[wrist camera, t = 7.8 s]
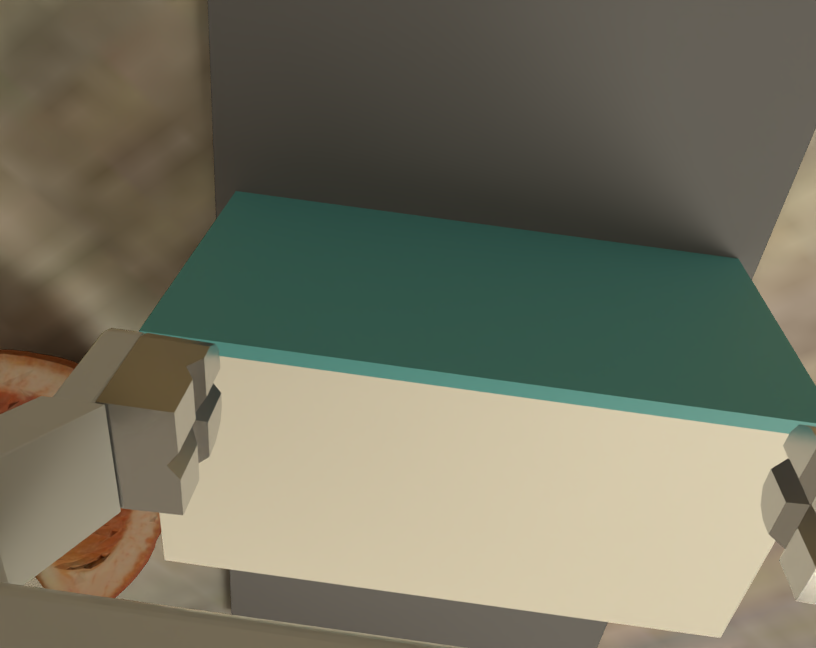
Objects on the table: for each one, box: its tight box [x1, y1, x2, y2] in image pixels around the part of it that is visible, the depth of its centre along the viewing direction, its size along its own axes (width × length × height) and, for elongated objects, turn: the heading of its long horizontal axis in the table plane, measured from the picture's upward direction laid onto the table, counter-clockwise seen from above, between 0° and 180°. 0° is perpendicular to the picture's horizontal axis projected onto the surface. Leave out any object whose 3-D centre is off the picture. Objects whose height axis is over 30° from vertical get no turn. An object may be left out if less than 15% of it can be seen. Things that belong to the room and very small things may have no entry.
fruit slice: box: [0, 350, 161, 598], centre depth 20 cm, size 8×7×5 cm
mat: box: [208, 0, 816, 648], centre depth 21 cm, size 13×24×1 cm, turn 174°
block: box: [139, 191, 816, 638], centre depth 17 cm, size 12×6×6 cm
